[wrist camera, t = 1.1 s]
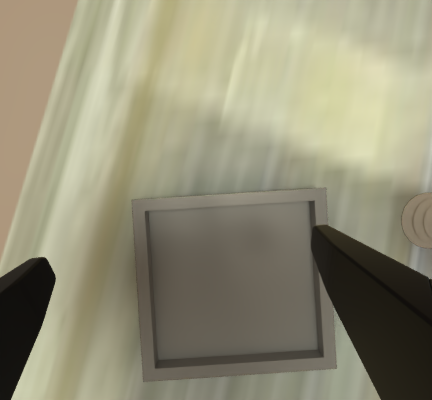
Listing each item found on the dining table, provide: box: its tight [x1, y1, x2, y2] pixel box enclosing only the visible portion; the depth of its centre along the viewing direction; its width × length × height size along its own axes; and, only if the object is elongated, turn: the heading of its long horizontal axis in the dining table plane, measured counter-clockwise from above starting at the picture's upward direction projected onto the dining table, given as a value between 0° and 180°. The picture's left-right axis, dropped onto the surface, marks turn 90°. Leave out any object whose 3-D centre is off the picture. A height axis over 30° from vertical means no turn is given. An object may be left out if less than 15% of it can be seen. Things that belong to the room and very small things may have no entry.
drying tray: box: [132, 188, 337, 382], centre depth 24 cm, size 15×16×2 cm
